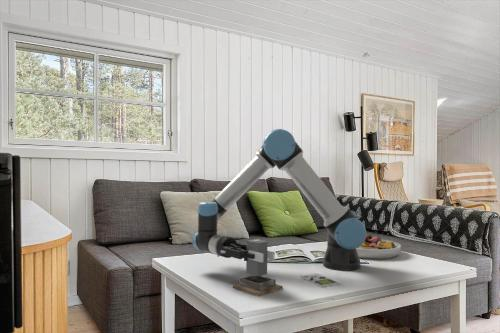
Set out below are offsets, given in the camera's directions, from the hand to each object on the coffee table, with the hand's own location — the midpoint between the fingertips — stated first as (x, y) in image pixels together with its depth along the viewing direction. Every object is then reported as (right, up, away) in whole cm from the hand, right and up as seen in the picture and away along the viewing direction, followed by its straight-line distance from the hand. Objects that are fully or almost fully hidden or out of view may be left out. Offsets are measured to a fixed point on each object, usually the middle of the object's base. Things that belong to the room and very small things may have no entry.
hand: (268, 256), depth 132 cm
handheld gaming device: (+19, -12, +14) cm, 27 cm away
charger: (-4, -6, +4) cm, 8 cm away
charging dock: (-3, -11, +4) cm, 12 cm away
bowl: (+50, -12, +61) cm, 80 cm away
